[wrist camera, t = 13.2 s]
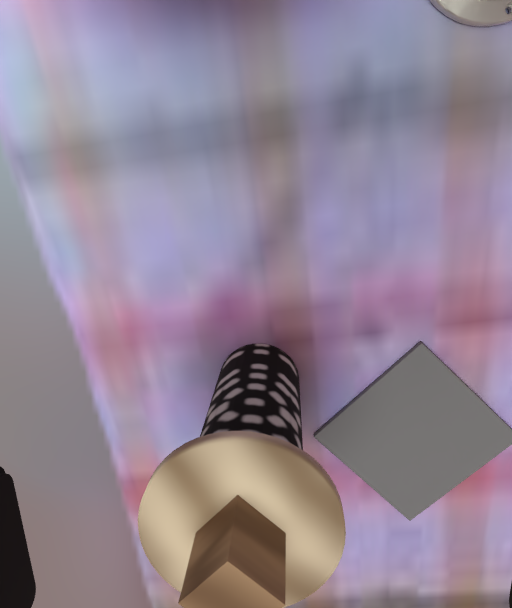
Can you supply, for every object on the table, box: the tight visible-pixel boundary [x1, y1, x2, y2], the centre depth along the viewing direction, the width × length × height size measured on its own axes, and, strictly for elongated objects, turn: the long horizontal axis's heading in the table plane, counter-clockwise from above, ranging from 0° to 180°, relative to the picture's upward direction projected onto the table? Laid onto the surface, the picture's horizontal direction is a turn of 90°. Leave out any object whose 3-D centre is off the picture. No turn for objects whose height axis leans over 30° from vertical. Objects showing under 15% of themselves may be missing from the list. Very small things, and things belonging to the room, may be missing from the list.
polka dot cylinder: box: [200, 344, 303, 450], centre depth 40 cm, size 8×8×20 cm
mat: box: [314, 341, 512, 521], centre depth 50 cm, size 15×15×1 cm
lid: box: [138, 431, 346, 608], centre depth 28 cm, size 13×13×6 cm
